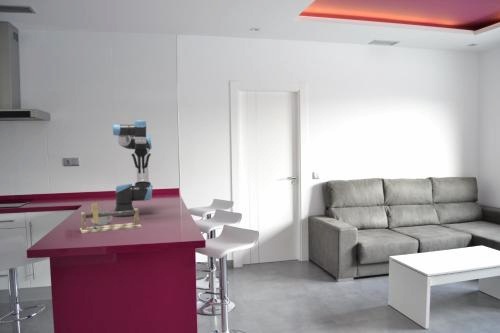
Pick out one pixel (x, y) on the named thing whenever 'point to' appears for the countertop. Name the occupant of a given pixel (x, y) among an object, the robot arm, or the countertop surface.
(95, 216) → the collar
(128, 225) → the rail
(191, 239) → the countertop surface
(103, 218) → the cup
